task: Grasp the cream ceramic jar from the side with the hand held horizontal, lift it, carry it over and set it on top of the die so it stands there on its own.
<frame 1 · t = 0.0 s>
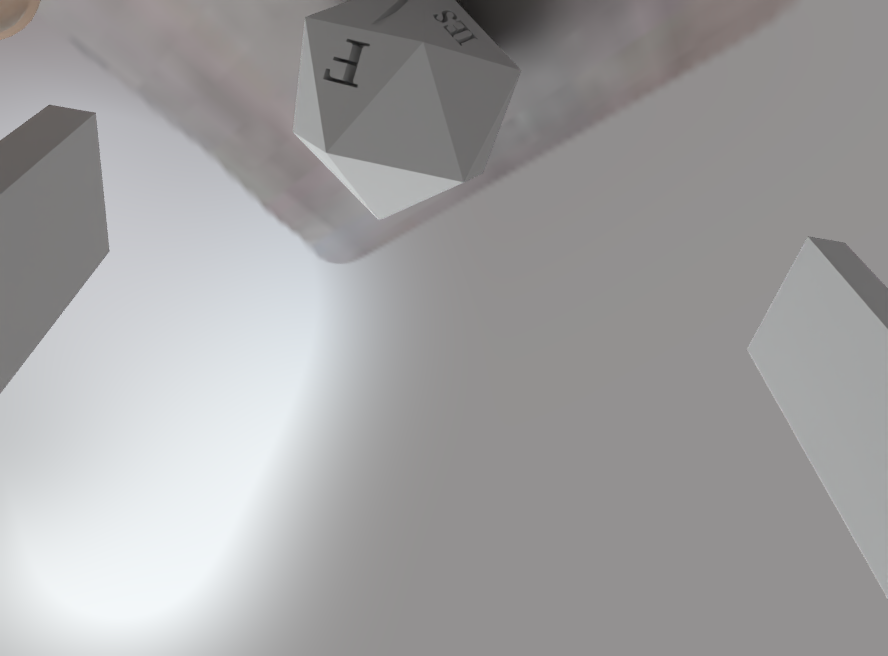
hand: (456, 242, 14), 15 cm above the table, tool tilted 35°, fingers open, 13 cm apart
die: (414, 20, 30), on the table
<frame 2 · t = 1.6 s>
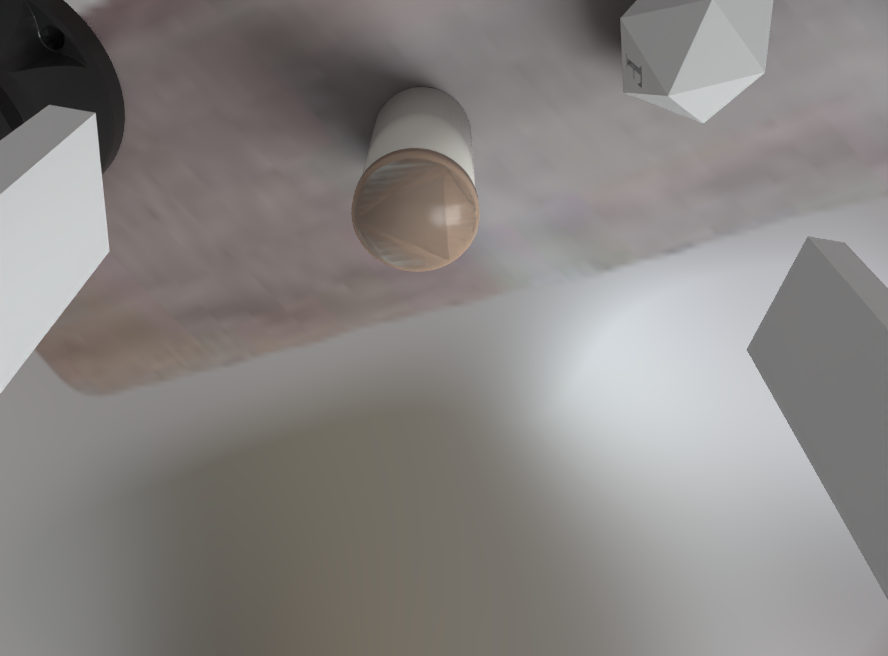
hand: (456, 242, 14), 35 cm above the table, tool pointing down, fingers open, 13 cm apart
jar: (422, 136, 48), on the table
die: (676, 22, 44), on the table
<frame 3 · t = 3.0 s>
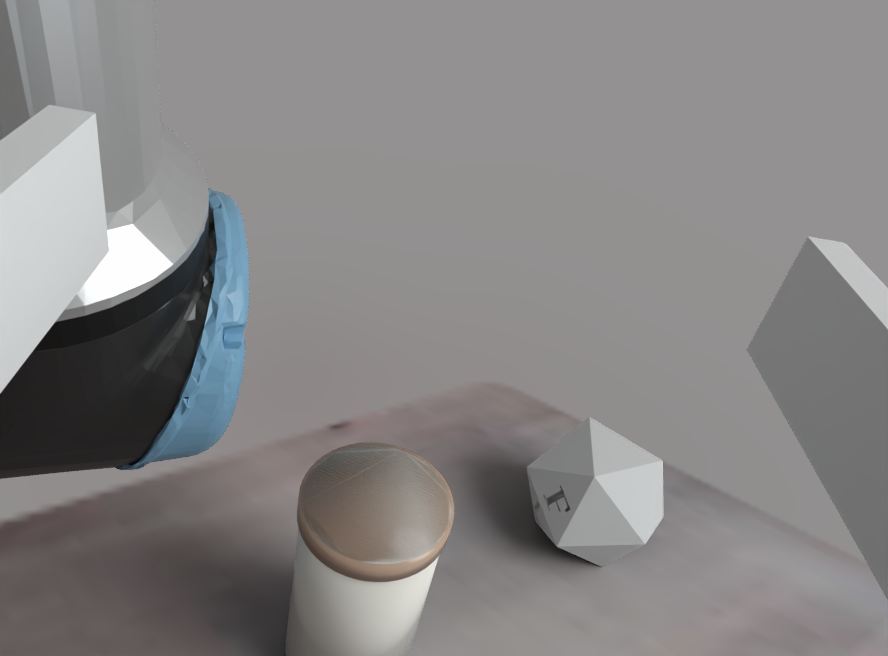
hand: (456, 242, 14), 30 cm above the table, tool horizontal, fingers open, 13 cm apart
jar: (347, 646, 38), on the table
die: (577, 532, 48), on the table
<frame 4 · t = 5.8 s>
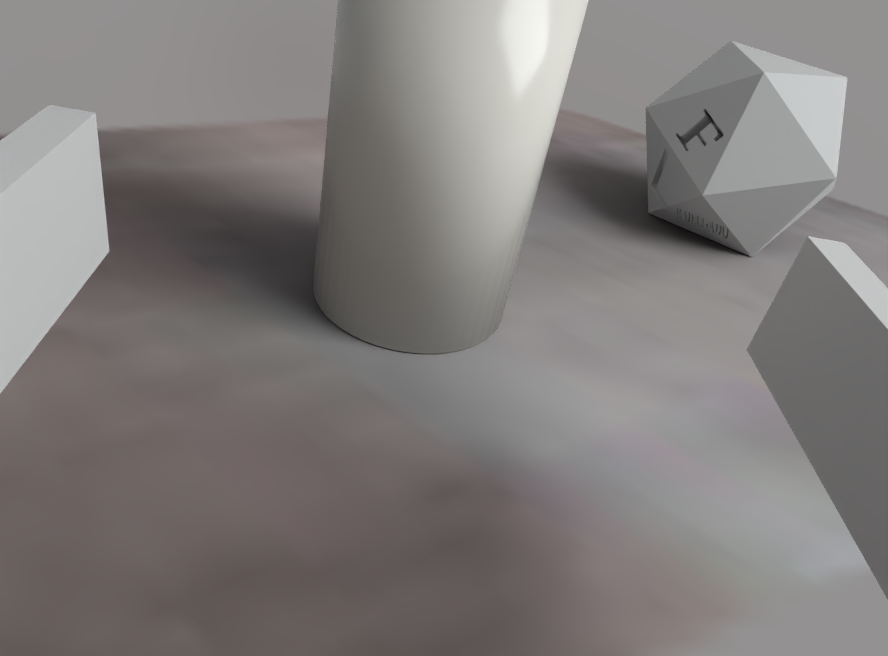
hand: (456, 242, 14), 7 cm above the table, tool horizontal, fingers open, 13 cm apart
jar: (409, 294, 25), on the table
die: (706, 229, 34), on the table
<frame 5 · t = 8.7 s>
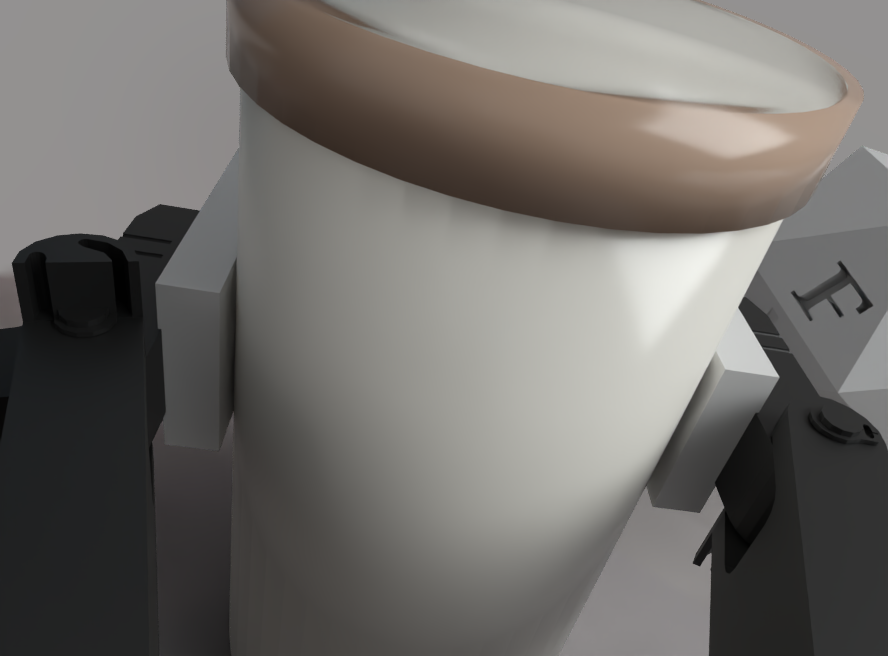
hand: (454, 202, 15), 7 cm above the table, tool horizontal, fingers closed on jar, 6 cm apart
jar: (392, 614, 15), on the table, touching gripper
die: (814, 397, 25), on the table
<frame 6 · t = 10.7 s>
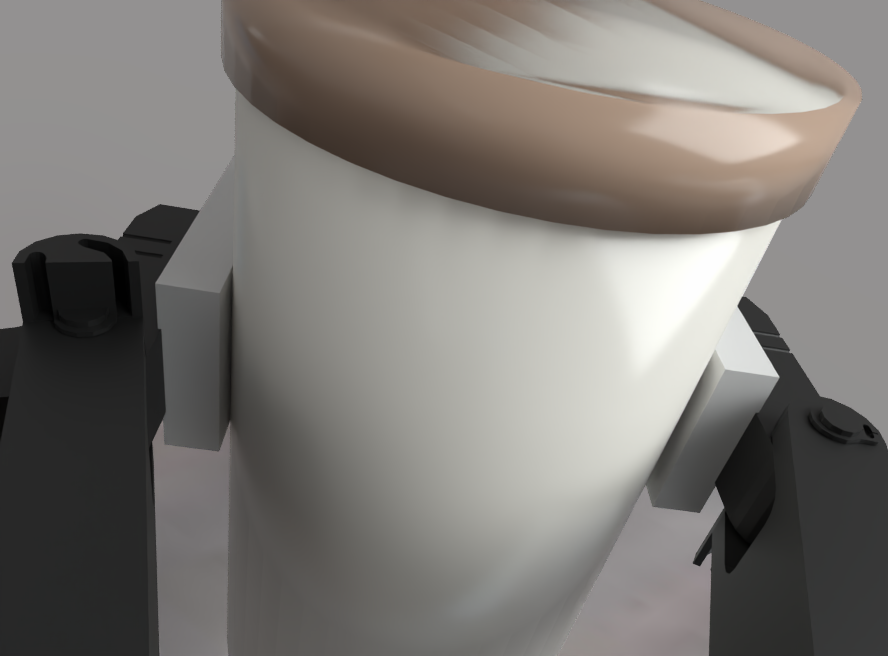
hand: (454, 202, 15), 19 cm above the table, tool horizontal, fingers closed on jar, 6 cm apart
jar: (391, 615, 15), point 12 cm above the table, touching gripper
when the fingers open (16 cm above the table, at t = 13.3 s): jar drops 2 cm, resting on die.
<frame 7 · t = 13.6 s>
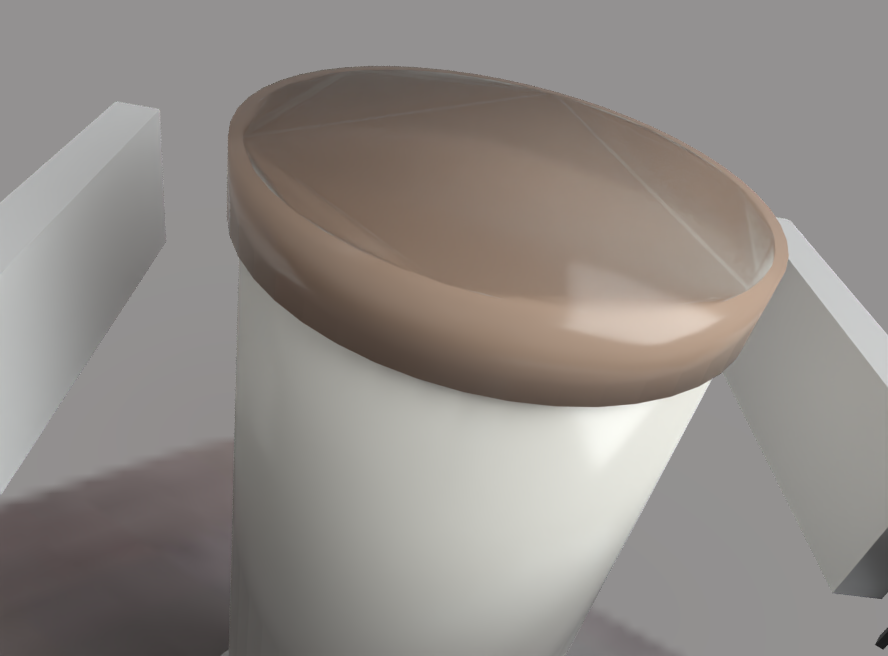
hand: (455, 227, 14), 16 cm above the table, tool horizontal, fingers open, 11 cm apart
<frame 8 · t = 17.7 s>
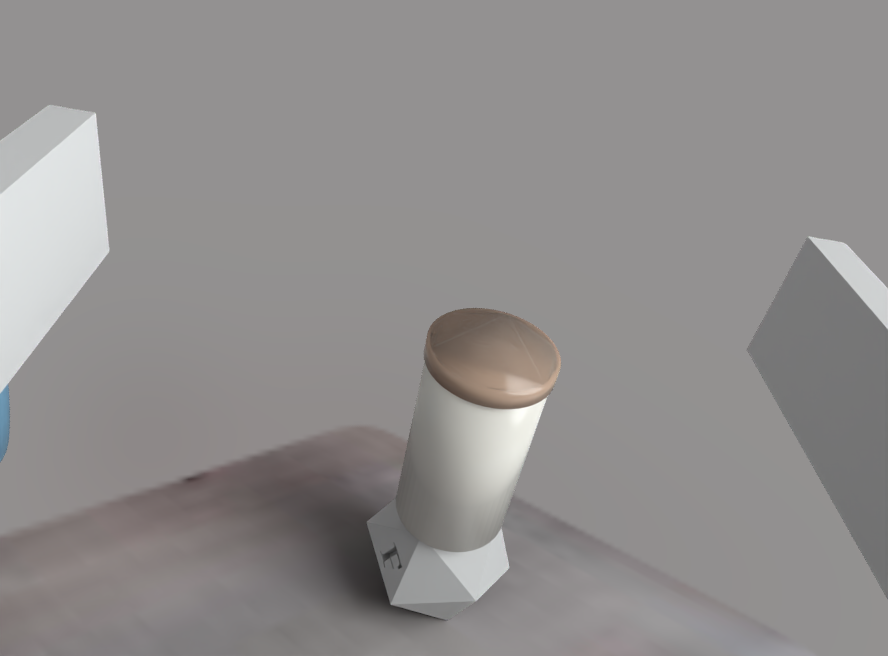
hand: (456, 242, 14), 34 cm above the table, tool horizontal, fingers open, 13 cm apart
jar: (449, 506, 43), point 8 cm above the table, touching die
die: (428, 583, 47), on the table, touching jar
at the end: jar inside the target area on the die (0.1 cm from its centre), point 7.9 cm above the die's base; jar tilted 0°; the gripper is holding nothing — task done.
